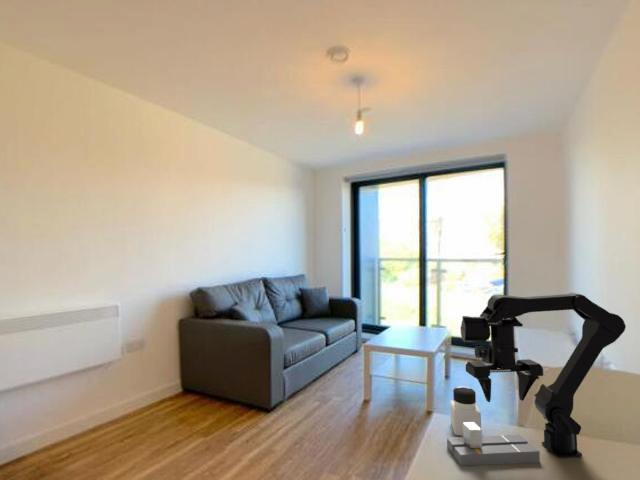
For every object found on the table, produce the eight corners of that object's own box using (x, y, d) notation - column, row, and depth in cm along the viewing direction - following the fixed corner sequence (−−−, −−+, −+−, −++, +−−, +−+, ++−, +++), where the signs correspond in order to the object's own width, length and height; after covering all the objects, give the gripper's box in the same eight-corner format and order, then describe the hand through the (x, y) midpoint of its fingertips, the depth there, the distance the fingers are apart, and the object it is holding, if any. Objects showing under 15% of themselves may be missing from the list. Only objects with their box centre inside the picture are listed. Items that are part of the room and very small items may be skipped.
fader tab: (474, 445, 93) (473, 422, 93) (482, 454, 89) (481, 429, 89) (463, 446, 92) (462, 422, 93) (470, 454, 88) (470, 430, 89)
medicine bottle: (481, 437, 99) (480, 394, 99) (454, 435, 100) (453, 392, 101) (475, 425, 106) (474, 385, 106) (450, 423, 107) (449, 383, 108)
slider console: (519, 444, 95) (519, 434, 95) (539, 461, 87) (539, 450, 87) (447, 447, 94) (446, 437, 94) (460, 465, 86) (460, 454, 86)
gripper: (517, 334, 104) (519, 388, 103) (455, 336, 103) (457, 390, 102) (543, 344, 93) (546, 404, 92) (474, 346, 92) (476, 407, 91)
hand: (504, 400), depth 95 cm, fingers open, 9 cm apart
